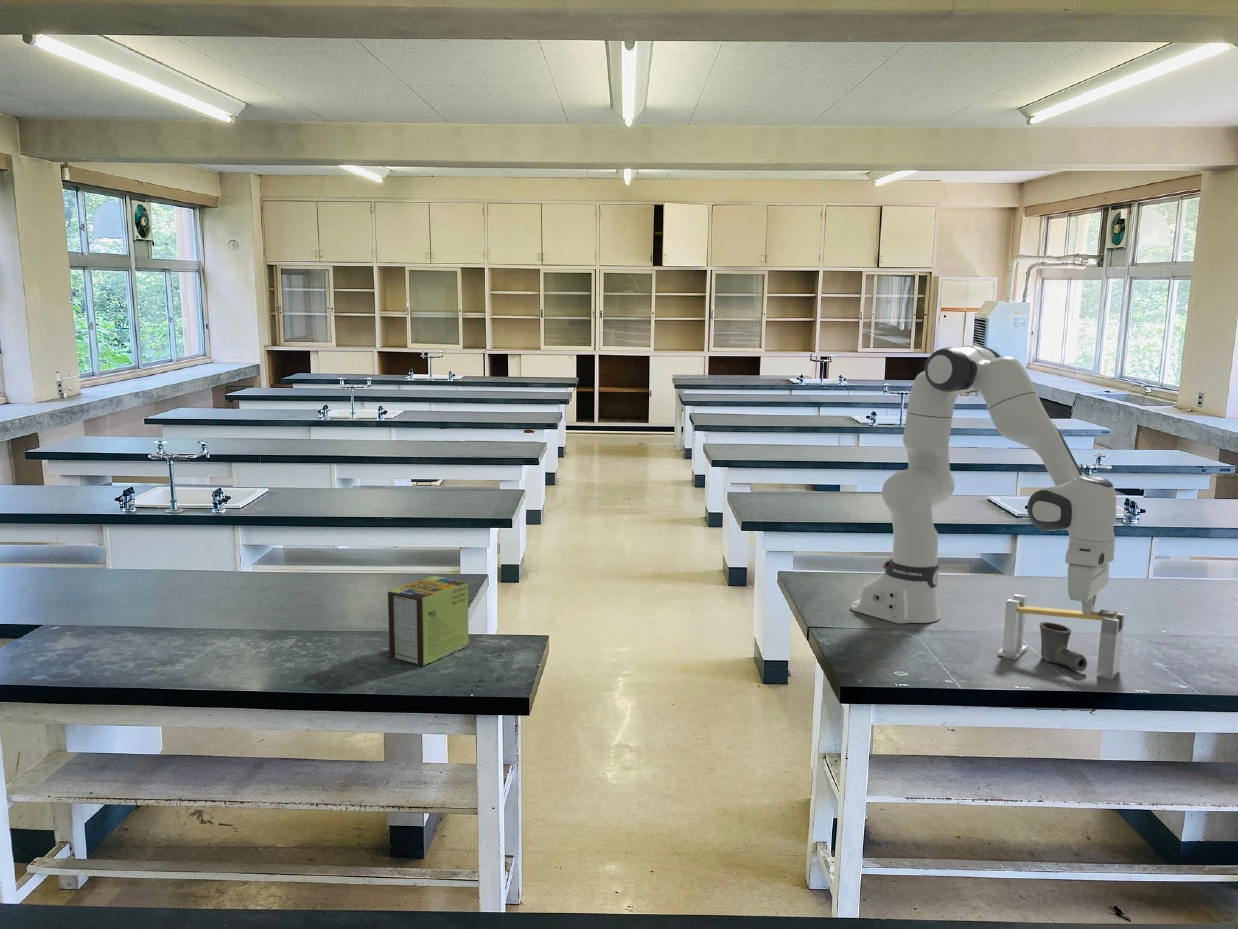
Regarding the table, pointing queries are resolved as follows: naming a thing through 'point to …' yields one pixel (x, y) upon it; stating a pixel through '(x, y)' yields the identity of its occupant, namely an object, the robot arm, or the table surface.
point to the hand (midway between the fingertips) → (1088, 613)
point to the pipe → (1059, 647)
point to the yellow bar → (1067, 613)
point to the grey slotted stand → (1014, 629)
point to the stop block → (1110, 647)
